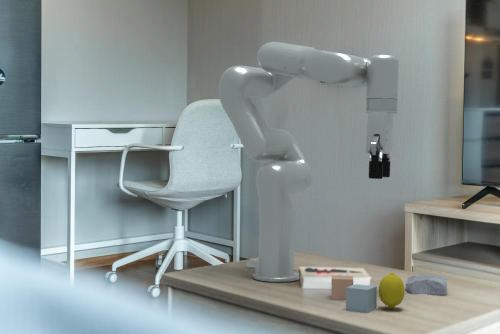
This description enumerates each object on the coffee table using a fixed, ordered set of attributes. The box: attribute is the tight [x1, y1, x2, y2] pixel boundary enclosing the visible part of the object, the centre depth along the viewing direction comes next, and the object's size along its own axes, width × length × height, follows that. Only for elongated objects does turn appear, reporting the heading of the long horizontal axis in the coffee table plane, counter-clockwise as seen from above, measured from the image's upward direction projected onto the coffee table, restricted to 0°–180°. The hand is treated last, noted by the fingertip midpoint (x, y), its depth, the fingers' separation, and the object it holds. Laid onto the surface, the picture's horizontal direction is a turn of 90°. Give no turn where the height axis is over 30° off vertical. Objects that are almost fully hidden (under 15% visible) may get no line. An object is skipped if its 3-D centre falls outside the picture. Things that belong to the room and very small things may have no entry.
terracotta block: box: [330, 274, 354, 302], centre depth 173 cm, size 5×5×5 cm
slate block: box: [345, 283, 378, 314], centre depth 161 cm, size 5×5×5 cm
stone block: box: [404, 273, 448, 296], centre depth 184 cm, size 12×5×10 cm
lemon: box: [378, 272, 405, 310], centre depth 162 cm, size 6×6×8 cm
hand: (379, 177), depth 178 cm, fingers open, 9 cm apart
